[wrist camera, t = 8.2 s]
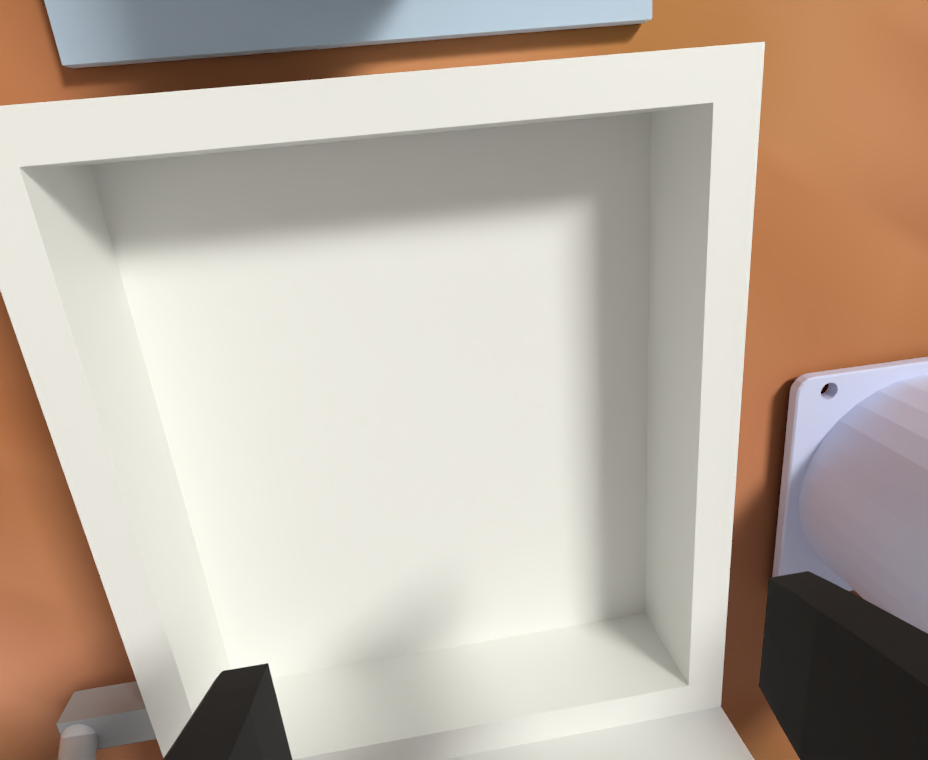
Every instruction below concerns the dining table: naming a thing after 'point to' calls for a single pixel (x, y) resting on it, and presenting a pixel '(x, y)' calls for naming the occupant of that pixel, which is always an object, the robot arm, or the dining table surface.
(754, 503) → the dining table surface
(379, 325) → the case
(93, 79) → the dining table surface
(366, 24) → the mat
